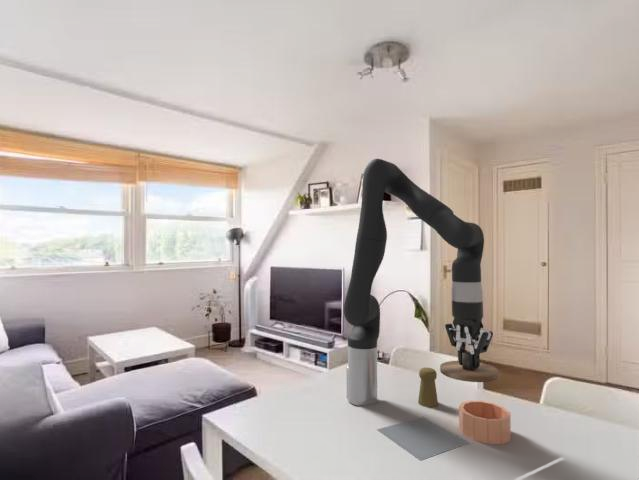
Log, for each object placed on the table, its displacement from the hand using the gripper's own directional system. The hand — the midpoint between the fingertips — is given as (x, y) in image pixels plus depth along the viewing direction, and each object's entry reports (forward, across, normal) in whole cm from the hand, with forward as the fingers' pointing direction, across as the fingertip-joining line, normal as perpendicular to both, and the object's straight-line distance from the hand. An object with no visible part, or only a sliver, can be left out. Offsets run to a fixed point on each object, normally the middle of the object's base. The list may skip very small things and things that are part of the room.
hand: (468, 366), depth 95 cm
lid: (+2, 0, 0) cm, 2 cm away
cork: (+18, +19, -4) cm, 26 cm away
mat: (+18, +5, +12) cm, 22 cm away
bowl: (+18, -1, -4) cm, 18 cm away
